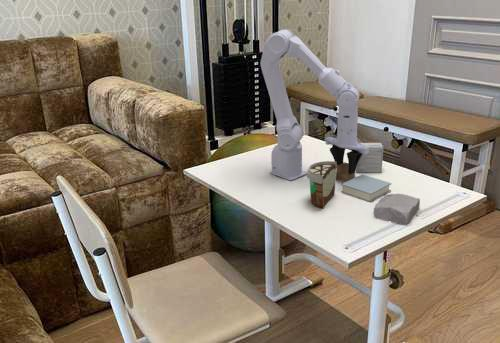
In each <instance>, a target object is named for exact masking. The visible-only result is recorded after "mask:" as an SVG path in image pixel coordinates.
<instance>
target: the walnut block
mask: <svg viewBox="0 0 500 343" xmlns="http://www.w3.org/2000/svg"><path fill="white" fill-rule="evenodd" d="M355 177H356V172H355V173H353V174H349V162H348V163H347V162H344V161H343V163H342V164H340V165H337V168H336V179H335V181H336V180H337V181H340V182H343V183H345V182H347V181H349V180H351V179H353V178H355Z"/></svg>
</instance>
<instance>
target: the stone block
mask: <svg viewBox="0 0 500 343" xmlns="http://www.w3.org/2000/svg"><path fill="white" fill-rule="evenodd" d="M383 196H384V197H383ZM383 196H382V197H380V199H379V200H378V201H377V203H375V205H374V207H373V214H374V216H375V218H376V219H378V220H381V221H384V222H389V221H391V222H392V223H395V222H396V223H397V224H401V225H405V224H406V225H408V224H409V223H410V221H411V220H412V218H413V217H414V215H415V214H416V213H417V212H418V210H419V208H420V207H421V206H420V202H421V200H420V198H419V197H414V196H412V195H409V194H404V193H387V194H385V195H383Z"/></svg>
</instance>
